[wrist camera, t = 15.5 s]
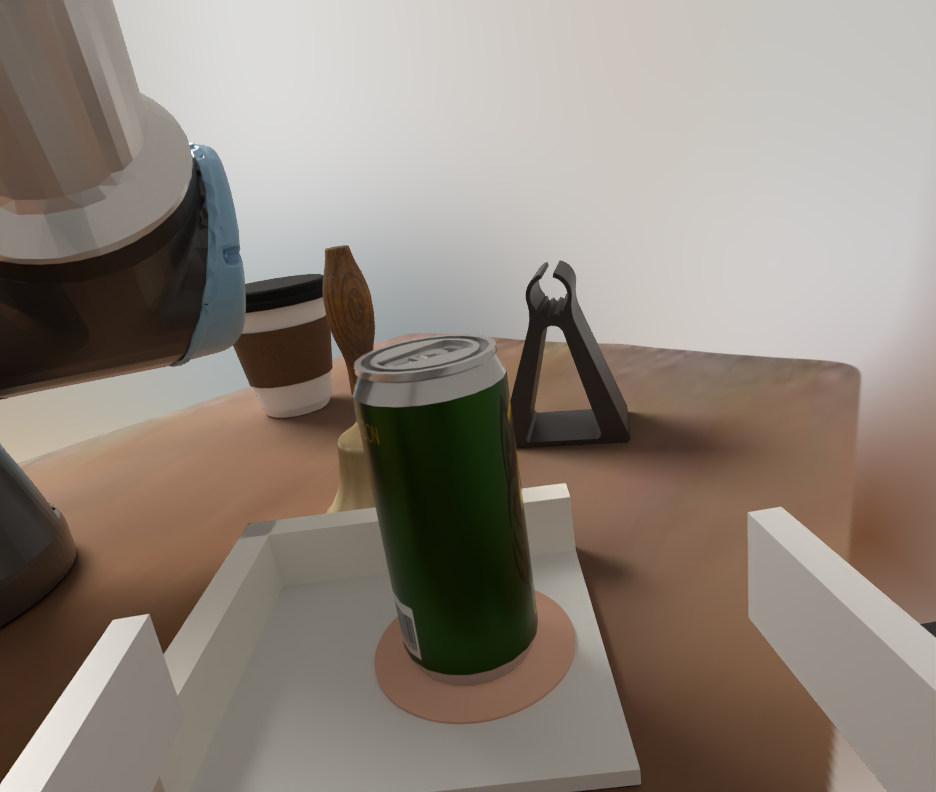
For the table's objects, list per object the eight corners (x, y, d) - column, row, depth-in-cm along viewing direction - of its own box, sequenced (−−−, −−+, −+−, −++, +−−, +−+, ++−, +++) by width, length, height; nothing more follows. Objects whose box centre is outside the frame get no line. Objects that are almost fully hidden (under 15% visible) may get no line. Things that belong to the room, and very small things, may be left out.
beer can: (454, 716, 23) (393, 387, 19) (382, 641, 27) (322, 361, 23) (569, 642, 25) (535, 342, 22) (487, 585, 30) (448, 327, 26)
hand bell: (293, 542, 38) (224, 265, 33) (372, 479, 45) (324, 243, 40) (417, 560, 34) (359, 251, 29) (481, 488, 41) (444, 229, 36)
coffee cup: (259, 437, 57) (224, 300, 53) (228, 411, 66) (196, 292, 62) (372, 401, 62) (348, 274, 58) (330, 382, 71) (306, 271, 67)
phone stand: (628, 411, 50) (617, 253, 47) (630, 442, 45) (617, 265, 41) (512, 418, 52) (493, 267, 49) (500, 448, 47) (477, 281, 43)
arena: (134, 838, 21) (100, 752, 20) (264, 583, 34) (248, 523, 33) (641, 784, 20) (634, 692, 19) (572, 545, 33) (565, 483, 32)
